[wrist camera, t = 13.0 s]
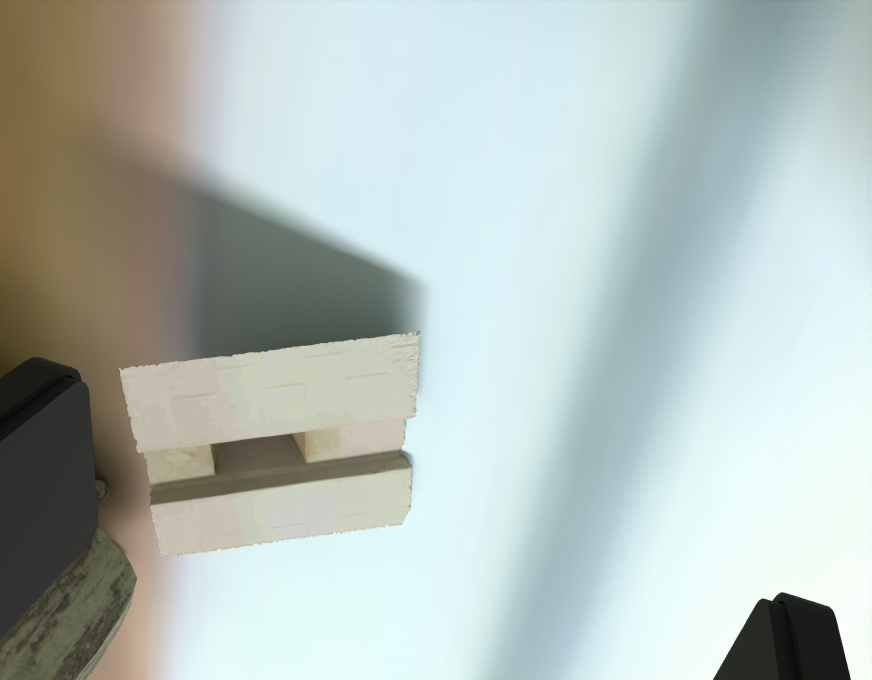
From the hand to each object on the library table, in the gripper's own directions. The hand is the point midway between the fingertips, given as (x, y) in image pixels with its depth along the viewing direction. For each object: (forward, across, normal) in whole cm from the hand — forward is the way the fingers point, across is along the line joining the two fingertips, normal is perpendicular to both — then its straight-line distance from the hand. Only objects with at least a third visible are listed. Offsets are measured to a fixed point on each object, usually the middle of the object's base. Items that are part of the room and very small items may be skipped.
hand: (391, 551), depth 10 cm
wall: (+30, +11, +21) cm, 38 cm away
